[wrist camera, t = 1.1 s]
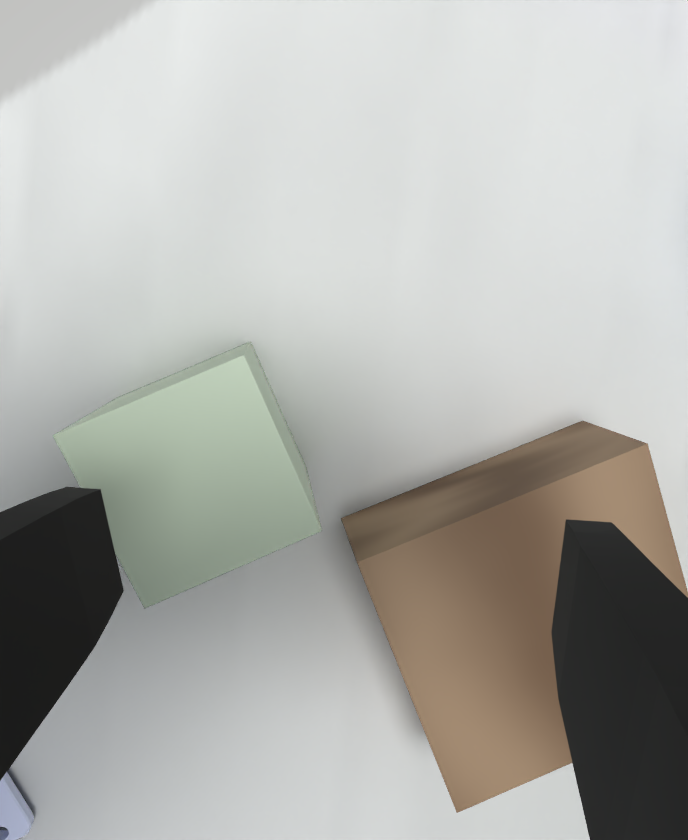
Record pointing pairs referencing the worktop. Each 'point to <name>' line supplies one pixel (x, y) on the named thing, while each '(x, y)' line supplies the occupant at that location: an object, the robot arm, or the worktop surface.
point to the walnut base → (499, 593)
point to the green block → (194, 474)
